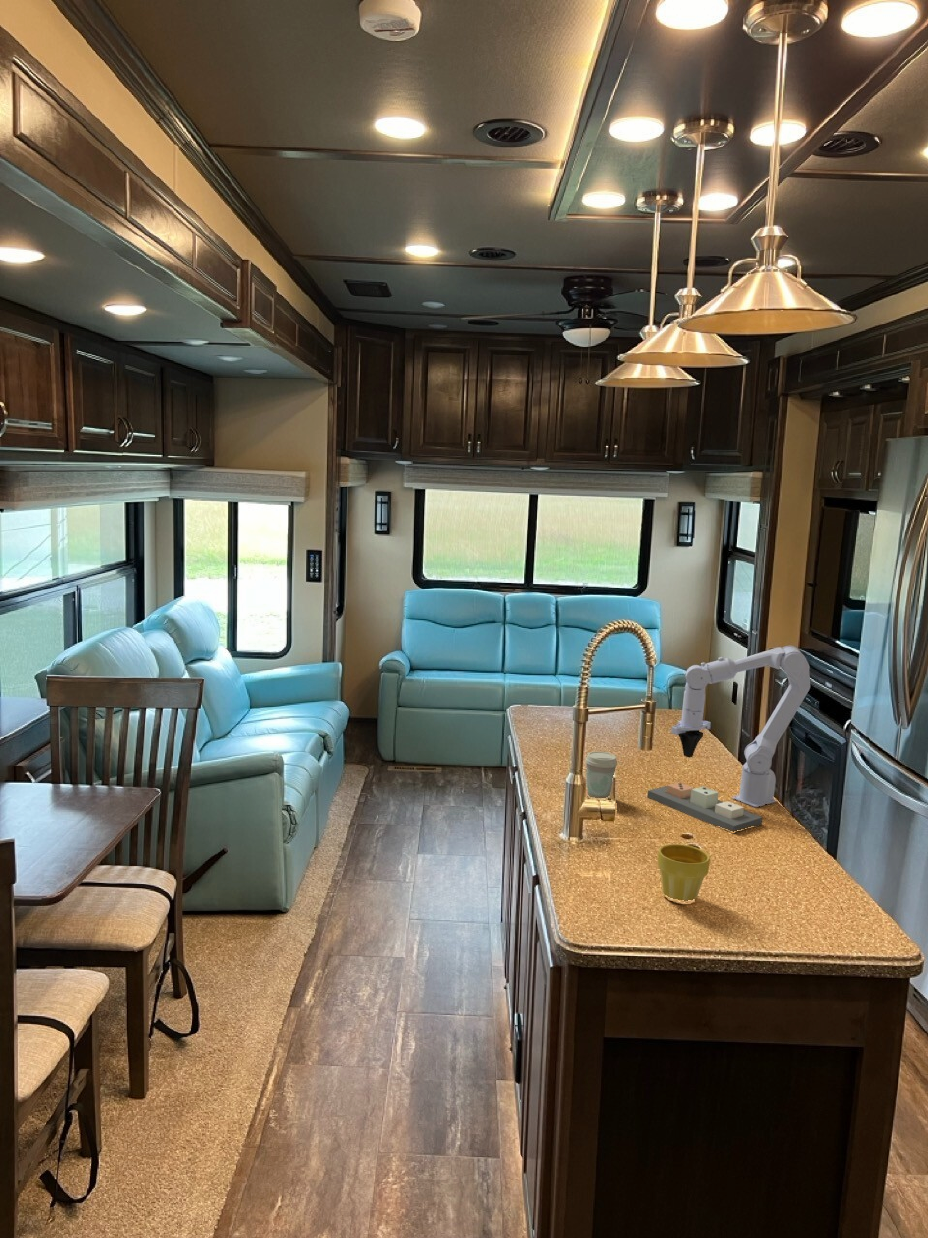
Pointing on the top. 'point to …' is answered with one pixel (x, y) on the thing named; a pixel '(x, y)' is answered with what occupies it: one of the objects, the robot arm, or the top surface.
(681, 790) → the key three
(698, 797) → the key two
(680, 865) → the plant pot
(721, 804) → the key one
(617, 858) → the top surface
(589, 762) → the coffee cup
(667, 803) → the keypad board
